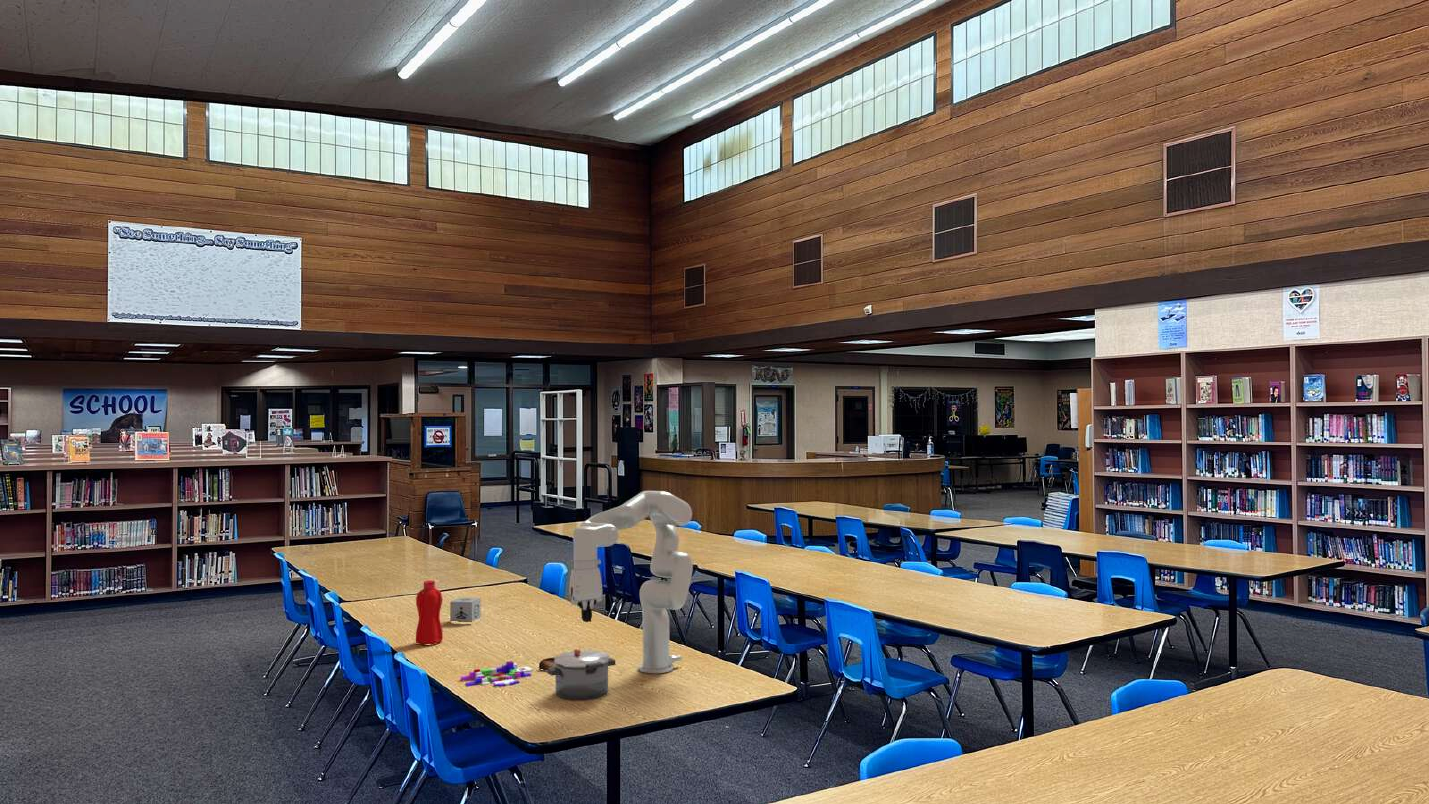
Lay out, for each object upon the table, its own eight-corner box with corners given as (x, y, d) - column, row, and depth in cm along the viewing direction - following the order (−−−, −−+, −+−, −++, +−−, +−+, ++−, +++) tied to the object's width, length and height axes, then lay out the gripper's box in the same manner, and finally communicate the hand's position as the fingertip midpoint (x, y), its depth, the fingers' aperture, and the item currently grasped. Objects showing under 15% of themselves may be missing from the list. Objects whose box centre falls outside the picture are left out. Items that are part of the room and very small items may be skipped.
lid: (594, 651, 307) (594, 643, 307) (621, 663, 290) (621, 655, 290) (546, 659, 297) (546, 650, 297) (570, 672, 281) (570, 663, 281)
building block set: (474, 693, 297) (474, 679, 297) (456, 678, 314) (456, 665, 314) (545, 681, 310) (545, 668, 310) (524, 667, 328) (524, 655, 328)
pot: (600, 680, 308) (600, 651, 308) (624, 693, 293) (624, 662, 294) (538, 691, 296) (538, 661, 296) (560, 705, 281) (560, 673, 281)
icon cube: (459, 619, 408) (459, 597, 409) (480, 620, 407) (480, 597, 407) (450, 624, 398) (450, 601, 399) (471, 624, 397) (471, 602, 397)
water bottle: (409, 645, 360) (409, 582, 360) (427, 639, 370) (427, 578, 370) (427, 647, 356) (428, 584, 357) (446, 641, 366) (446, 579, 367)
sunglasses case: (554, 673, 318) (548, 655, 320) (543, 680, 321) (536, 663, 323) (591, 662, 332) (584, 645, 334) (579, 669, 336) (573, 652, 338)
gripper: (601, 560, 300) (602, 615, 300) (559, 565, 292) (560, 622, 292) (611, 563, 294) (612, 619, 294) (569, 569, 286) (570, 627, 286)
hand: (586, 621), depth 293 cm, fingers closed
